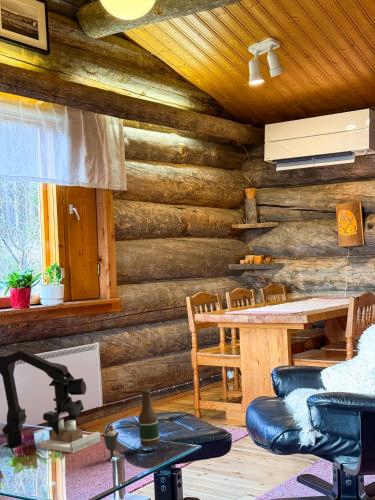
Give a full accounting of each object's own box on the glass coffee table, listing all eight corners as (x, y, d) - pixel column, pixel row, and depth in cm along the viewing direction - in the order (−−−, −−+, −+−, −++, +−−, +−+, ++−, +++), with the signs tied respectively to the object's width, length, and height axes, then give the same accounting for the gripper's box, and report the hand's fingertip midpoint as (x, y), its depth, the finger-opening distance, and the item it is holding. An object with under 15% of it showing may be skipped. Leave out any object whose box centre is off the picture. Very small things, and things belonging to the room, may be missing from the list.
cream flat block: (39, 447, 303) (38, 438, 302) (67, 436, 315) (66, 427, 315) (73, 452, 291) (72, 443, 291) (100, 441, 303) (99, 432, 303)
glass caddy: (49, 439, 306) (47, 421, 306) (60, 435, 311) (58, 417, 310) (72, 443, 298) (70, 424, 297) (83, 438, 302) (81, 420, 302)
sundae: (118, 462, 274) (114, 423, 273) (102, 462, 275) (98, 424, 274) (123, 456, 280) (119, 418, 280) (107, 456, 281) (103, 419, 281)
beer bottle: (141, 446, 290) (135, 388, 289) (160, 444, 291) (154, 386, 290) (141, 452, 283) (135, 392, 282) (161, 450, 283) (155, 390, 282)
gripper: (58, 402, 291) (62, 440, 292) (90, 391, 306) (94, 427, 307) (40, 400, 298) (44, 437, 298) (72, 389, 313) (76, 424, 313)
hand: (65, 431), depth 304 cm, fingers open, 9 cm apart
